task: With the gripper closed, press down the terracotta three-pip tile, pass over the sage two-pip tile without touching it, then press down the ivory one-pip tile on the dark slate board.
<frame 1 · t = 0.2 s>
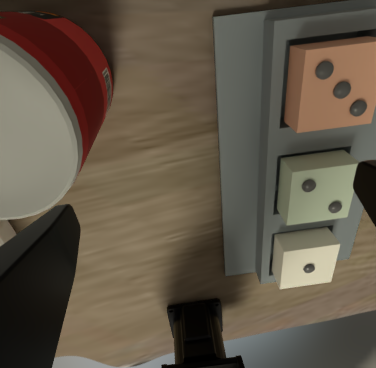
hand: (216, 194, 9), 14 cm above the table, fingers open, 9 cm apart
tile 2: (315, 188, 23), point 3 cm above the table, slide at 0.0 cm
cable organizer: (4, 257, 28), on the table
tile 3: (332, 85, 18), point 3 cm above the table, slide at 0.0 cm
canned food: (59, 76, 20), on the table
board: (297, 168, 26), on the table
tile 1: (303, 259, 27), point 3 cm above the table, slide at 0.0 cm
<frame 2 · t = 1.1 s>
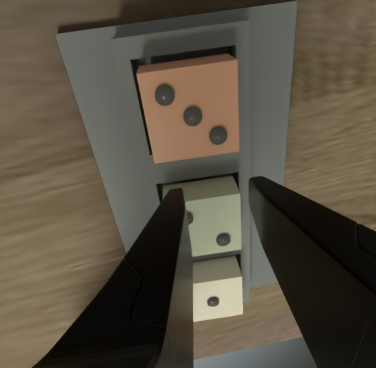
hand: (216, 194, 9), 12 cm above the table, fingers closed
tile 2: (202, 219, 20), point 3 cm above the table, slide at 0.0 cm
tile 3: (190, 110, 16), point 3 cm above the table, slide at 0.0 cm
board: (197, 192, 23), on the table
tile 1: (210, 290, 25), point 3 cm above the table, slide at 0.0 cm
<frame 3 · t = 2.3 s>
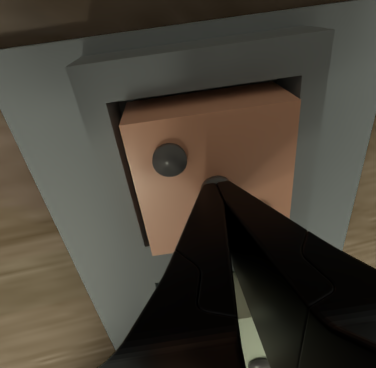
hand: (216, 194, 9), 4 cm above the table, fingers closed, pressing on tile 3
tile 2: (226, 330, 13), point 3 cm above the table, slide at 0.0 cm
tile 3: (210, 172, 10), point 2 cm above the table, slide at 1.1 cm, touching gripper
board: (214, 272, 16), on the table
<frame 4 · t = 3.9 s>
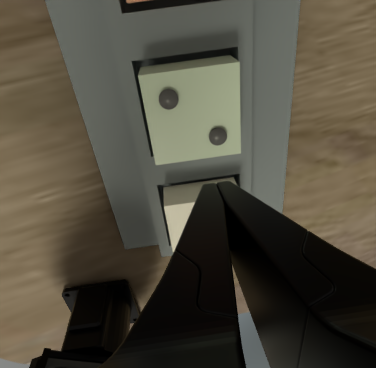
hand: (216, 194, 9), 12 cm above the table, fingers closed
tile 2: (192, 111, 16), point 3 cm above the table, slide at 0.0 cm
board: (187, 95, 19), on the table
tile 1: (203, 220, 20), point 3 cm above the table, slide at 0.0 cm
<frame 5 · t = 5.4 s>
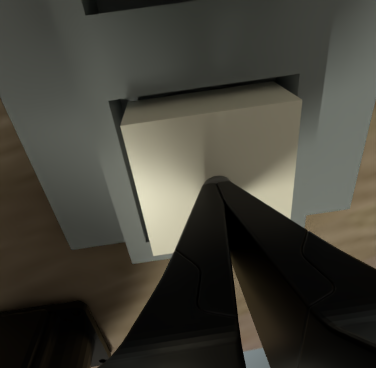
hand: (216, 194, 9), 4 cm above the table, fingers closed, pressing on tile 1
tile 1: (211, 172, 10), point 3 cm above the table, slide at 0.8 cm, touching gripper
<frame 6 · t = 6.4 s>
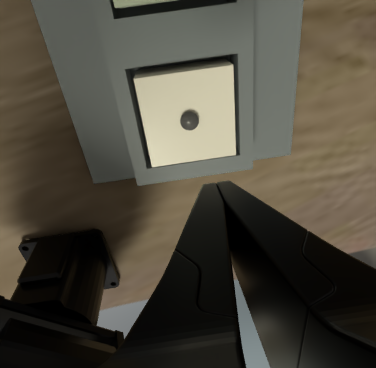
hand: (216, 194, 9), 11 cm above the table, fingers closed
tile 1: (187, 114, 16), point 2 cm above the table, slide at 1.4 cm
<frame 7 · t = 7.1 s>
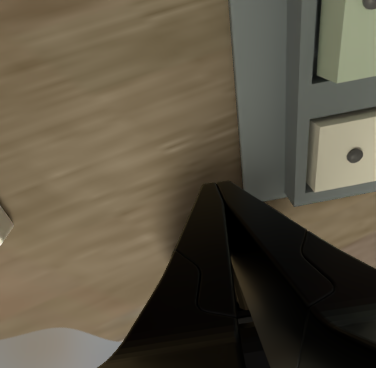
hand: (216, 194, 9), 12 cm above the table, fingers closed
board: (342, 19, 18), on the table
tile 1: (345, 148, 20), point 2 cm above the table, slide at 1.4 cm
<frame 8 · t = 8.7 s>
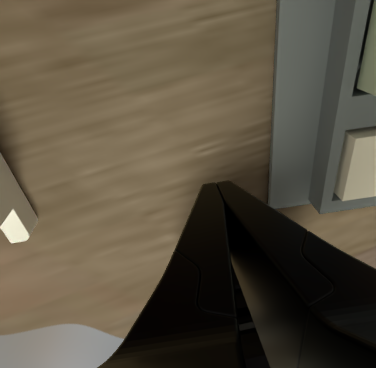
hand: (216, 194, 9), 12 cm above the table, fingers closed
tile 1: (374, 160, 21), point 2 cm above the table, slide at 1.4 cm
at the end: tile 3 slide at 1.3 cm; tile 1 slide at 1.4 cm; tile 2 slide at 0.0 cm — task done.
